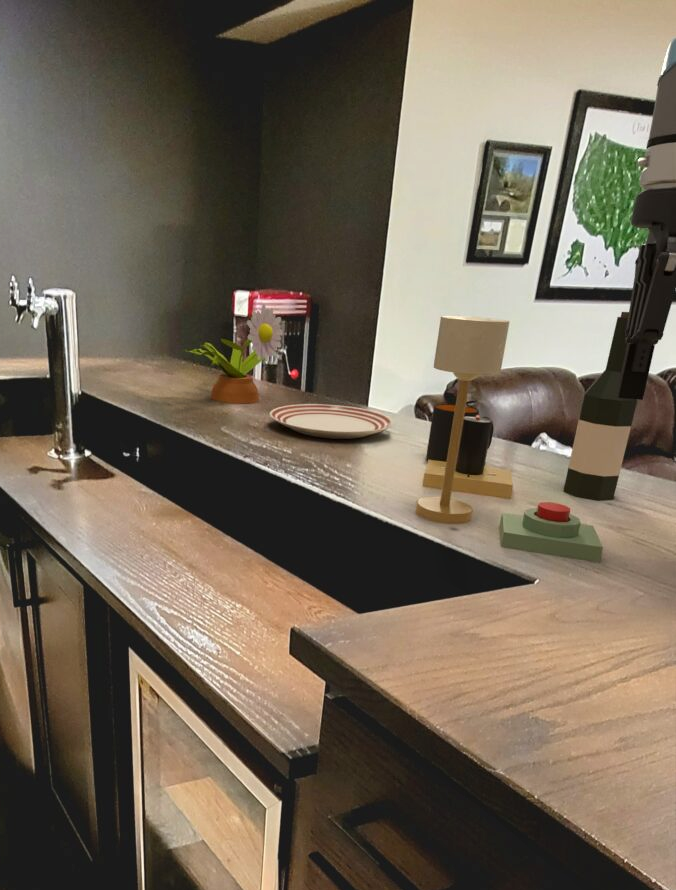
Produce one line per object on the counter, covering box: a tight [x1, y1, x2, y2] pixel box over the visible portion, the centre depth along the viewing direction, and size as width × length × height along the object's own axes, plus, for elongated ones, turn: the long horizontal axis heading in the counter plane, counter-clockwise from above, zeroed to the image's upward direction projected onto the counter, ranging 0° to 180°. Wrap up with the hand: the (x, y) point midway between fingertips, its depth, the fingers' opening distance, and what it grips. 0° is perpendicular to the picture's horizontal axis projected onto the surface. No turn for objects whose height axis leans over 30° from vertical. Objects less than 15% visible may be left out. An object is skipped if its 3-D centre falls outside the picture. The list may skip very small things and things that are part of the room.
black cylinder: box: [455, 414, 494, 475], centre depth 122 cm, size 5×5×9 cm
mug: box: [425, 403, 495, 462], centre depth 138 cm, size 8×12×10 cm
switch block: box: [498, 507, 604, 563], centre depth 98 cm, size 12×9×4 cm
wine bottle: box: [563, 311, 638, 501], centre depth 119 cm, size 8×8×30 cm
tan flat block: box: [422, 460, 514, 500], centre depth 124 cm, size 14×10×3 cm
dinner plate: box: [268, 403, 395, 440], centre depth 161 cm, size 28×27×3 cm
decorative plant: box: [184, 303, 284, 404], centre depth 190 cm, size 27×24×25 cm
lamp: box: [415, 315, 510, 525], centre depth 103 cm, size 9×9×28 cm
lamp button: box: [536, 501, 571, 522], centre depth 97 cm, size 4×4×2 cm
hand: (629, 397), depth 89 cm, fingers closed
